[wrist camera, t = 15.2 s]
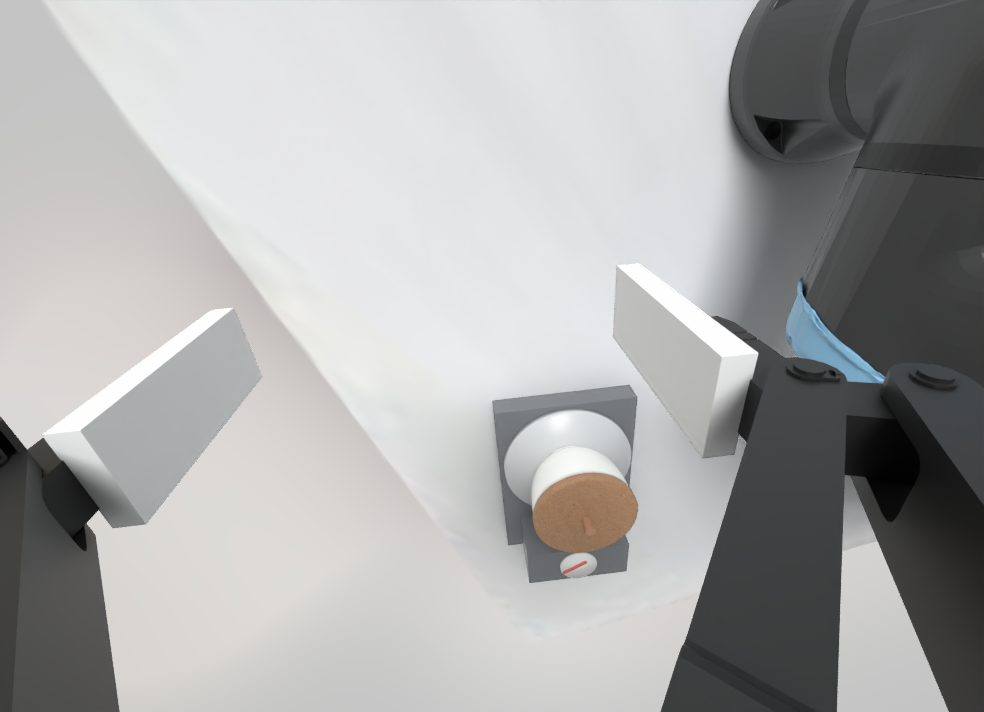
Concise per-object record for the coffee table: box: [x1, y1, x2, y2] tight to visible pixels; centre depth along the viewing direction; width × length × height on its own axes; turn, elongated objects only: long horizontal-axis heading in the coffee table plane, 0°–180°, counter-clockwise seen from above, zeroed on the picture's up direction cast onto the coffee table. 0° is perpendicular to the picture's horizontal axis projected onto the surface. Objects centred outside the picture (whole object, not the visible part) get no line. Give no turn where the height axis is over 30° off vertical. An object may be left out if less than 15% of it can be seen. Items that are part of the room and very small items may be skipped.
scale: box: [493, 385, 637, 583], centre depth 50 cm, size 16×22×9 cm
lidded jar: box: [531, 445, 638, 553], centre depth 46 cm, size 11×11×9 cm
